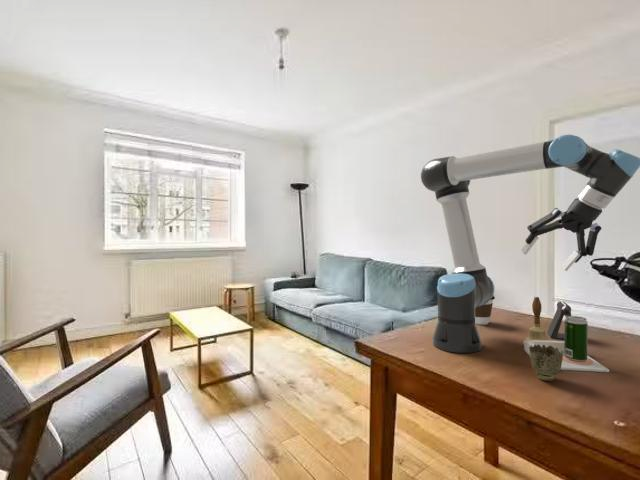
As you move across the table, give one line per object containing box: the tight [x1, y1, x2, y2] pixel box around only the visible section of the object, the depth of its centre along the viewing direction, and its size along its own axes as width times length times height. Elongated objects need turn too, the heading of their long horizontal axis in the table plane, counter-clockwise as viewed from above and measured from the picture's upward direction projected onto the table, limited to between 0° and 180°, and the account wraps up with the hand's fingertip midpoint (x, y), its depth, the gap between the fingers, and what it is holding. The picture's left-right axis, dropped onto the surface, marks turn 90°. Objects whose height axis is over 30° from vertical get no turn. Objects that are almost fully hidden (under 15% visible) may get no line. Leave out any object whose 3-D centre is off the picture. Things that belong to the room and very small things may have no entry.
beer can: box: [563, 315, 589, 362], centre depth 100 cm, size 5×5×12 cm
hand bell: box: [522, 296, 549, 345], centre depth 114 cm, size 8×8×16 cm
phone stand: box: [546, 301, 572, 340], centre depth 121 cm, size 9×6×12 cm, turn 66°
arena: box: [523, 339, 610, 373], centre depth 101 cm, size 16×14×4 cm
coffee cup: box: [475, 294, 495, 326], centre depth 141 cm, size 11×11×12 cm
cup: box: [529, 345, 563, 382], centre depth 89 cm, size 8×7×8 cm
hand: (543, 260), depth 111 cm, fingers open, 13 cm apart
